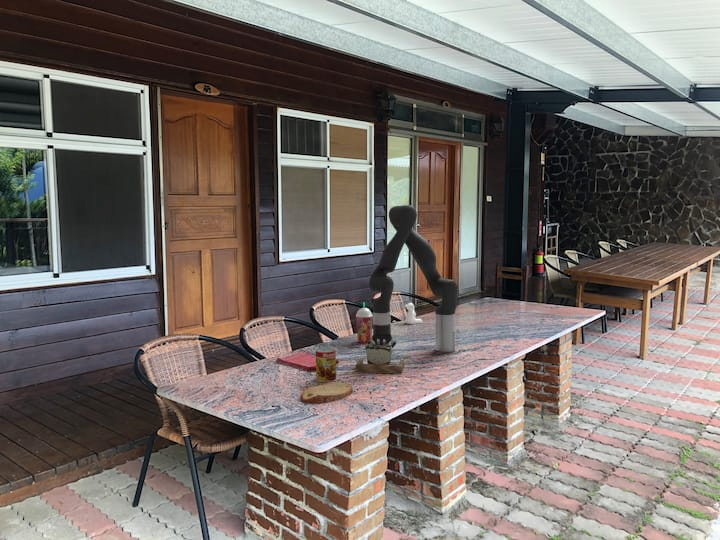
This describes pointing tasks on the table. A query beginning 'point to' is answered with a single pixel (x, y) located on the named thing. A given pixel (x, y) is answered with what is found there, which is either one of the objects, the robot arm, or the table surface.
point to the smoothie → (364, 324)
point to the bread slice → (326, 393)
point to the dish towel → (300, 361)
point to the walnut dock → (379, 367)
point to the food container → (378, 354)
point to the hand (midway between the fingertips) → (382, 362)
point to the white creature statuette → (411, 315)
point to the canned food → (325, 364)
